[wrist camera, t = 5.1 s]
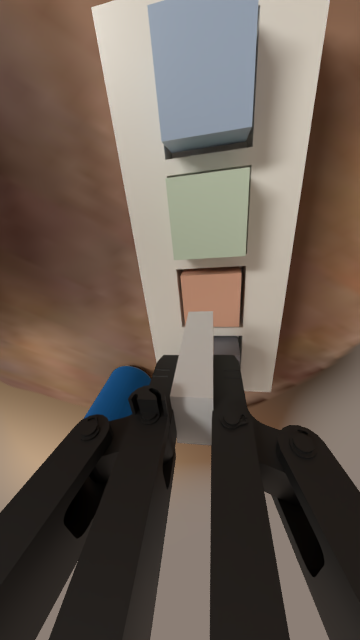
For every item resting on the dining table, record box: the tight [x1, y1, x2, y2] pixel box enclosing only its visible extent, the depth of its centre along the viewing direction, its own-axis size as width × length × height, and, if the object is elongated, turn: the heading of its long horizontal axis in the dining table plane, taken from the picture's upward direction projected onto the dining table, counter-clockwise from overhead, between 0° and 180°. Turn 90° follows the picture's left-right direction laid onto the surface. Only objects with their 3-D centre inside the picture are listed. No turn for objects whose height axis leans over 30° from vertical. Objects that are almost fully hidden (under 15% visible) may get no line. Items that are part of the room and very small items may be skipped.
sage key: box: [165, 167, 250, 260], centre depth 14 cm, size 5×5×3 cm
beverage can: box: [84, 366, 151, 421], centre depth 27 cm, size 6×6×12 cm
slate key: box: [147, 0, 259, 153], centre depth 11 cm, size 5×5×3 cm
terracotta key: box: [180, 266, 241, 327], centre depth 19 cm, size 5×5×3 cm
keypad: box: [91, 0, 330, 392], centre depth 19 cm, size 12×28×5 cm, turn 5°
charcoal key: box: [214, 336, 240, 363], centre depth 21 cm, size 5×5×3 cm
